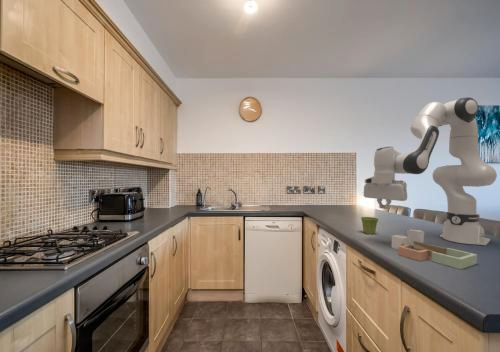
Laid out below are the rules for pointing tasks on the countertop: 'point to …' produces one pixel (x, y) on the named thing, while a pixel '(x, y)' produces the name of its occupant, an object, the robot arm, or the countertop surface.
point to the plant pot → (369, 224)
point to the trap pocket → (412, 253)
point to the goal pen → (455, 258)
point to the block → (399, 240)
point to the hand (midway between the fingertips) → (384, 208)
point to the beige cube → (415, 236)
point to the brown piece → (428, 248)
